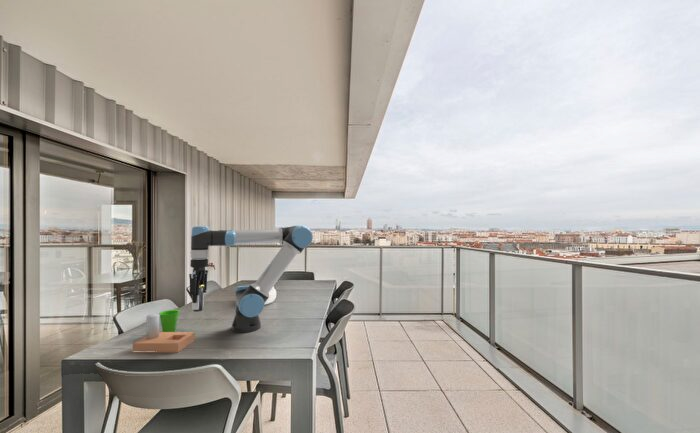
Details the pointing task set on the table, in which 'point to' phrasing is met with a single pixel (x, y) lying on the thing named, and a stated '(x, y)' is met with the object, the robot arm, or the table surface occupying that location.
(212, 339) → the table surface
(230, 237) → the robot arm
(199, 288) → the pin
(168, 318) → the cup
